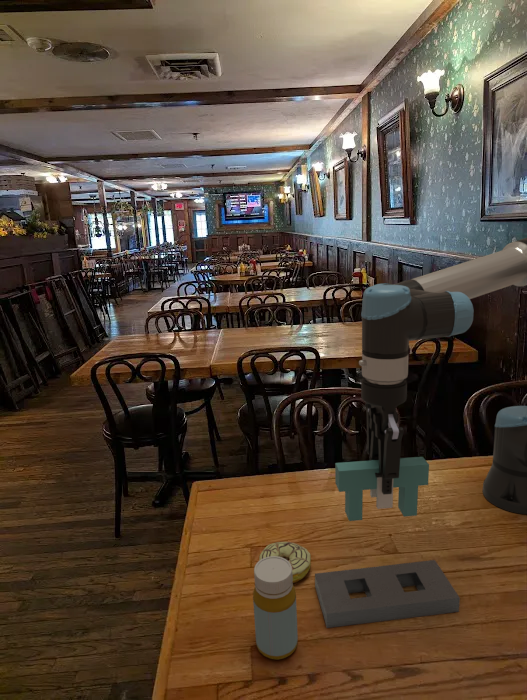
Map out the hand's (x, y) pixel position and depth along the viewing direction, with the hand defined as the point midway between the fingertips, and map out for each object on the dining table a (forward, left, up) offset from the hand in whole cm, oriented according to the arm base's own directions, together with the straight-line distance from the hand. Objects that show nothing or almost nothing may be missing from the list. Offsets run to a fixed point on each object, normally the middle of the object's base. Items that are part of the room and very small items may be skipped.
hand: (381, 501), depth 88 cm
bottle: (+21, +9, -19) cm, 30 cm away
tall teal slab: (0, 0, -3) cm, 3 cm away
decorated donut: (+17, -9, -20) cm, 27 cm away
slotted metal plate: (0, +2, -19) cm, 19 cm away
